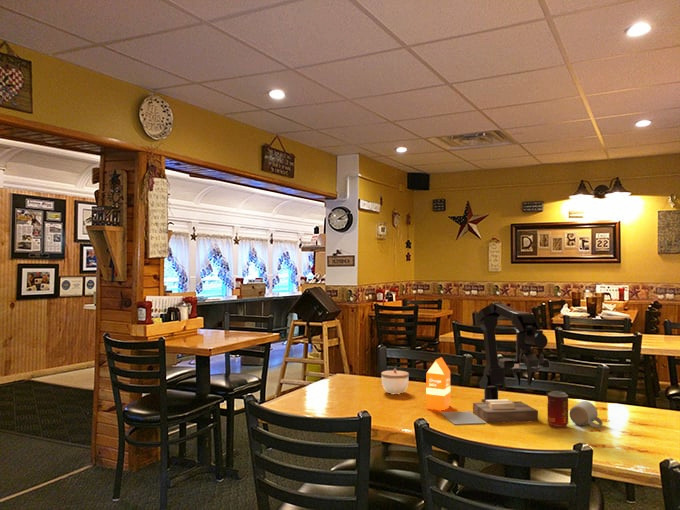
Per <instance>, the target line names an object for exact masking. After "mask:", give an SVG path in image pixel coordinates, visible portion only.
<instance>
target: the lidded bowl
mask: <svg viewBox="0 0 680 510" xmlns="http://www.w3.org/2000/svg"><path fill="white" fill-rule="evenodd" d="M380 375H381V384H382V387H383V389H384V390H385V392H388V393H395V394H398V393H402V394H403V393H404V392H405V391H406V390H407V388H408V386H409V376H410V373H409V372H407V371H403V370H397V368H393V370H384V371H382V372H381V374H380ZM388 393H387V394H388ZM398 395H399V394H398Z"/></svg>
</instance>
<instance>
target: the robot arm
mask: <svg viewBox="0 0 680 510" xmlns="http://www.w3.org/2000/svg"><path fill="white" fill-rule="evenodd" d="M501 317H503V318H506V319H507V320H509V321H510V322H511V324H512V325H513V326H514V329H513V330H512V332H513V333H515V334H516V335H515V338H516V340H515V343H516V346H514V349H515V351H516V352H515V357H514V360H513V359H510V358H500V359H498V358H499V356H498V348H497V339H496V328H497V326H498V324H499V321H498V320H499V319H500V318H501ZM476 319H477V322H478V323H477V324H478V326H479V327H480V329H481V330H482V334H483V335H482V336H483V343H484V351H485V352H484V354H485V363H486V365H485V366H484V369H483V373H482V374H483V376H482V378H481V379H480V381H479V382H478V384H479V388H480V389H483V390H484V392H483V393H484V394H483V395H484V396H483V397H484V398H483V399H481V401H482V403H483V402H485V400H499V389H503V388H504V383H505V381H506V380H505V379H506V376H505V369H510V371H511V372H512V374H513V376H514V379H515V381H516V383H517V386H521V370H522V368H520V366H521V367H522V366H525V367H526V375H527V378H526V379H527V385H528V386H531V384H532V381H533V379H534V377H535V375H536V373H537V371H540V370H541V367H542V368H550V367H551V363H550V360H549V359H547V358H544V354H543V353H537V354H535V350H534V348H536V349H540V350H542V349H545V348H546V347H547V345H548V340H549V339H548V338H547V336H546V335H545V334H544V331H543V330H542V329H540V326H539V324H538V322H537V321H536V318H535V316H534V314H532V312H529V311H519V310H517V309H514V308H512V307H510V306H508V305H507V304H504V303H503V302H498V301H495V302H491V303H490V304H488V305H486V306H485V307H483V308H481V309H480V310H479V311H478V313H476ZM540 366H541V367H540ZM481 401H480V402H481Z"/></svg>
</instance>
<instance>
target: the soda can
mask: <svg viewBox="0 0 680 510" xmlns="http://www.w3.org/2000/svg"><path fill="white" fill-rule="evenodd" d="M546 394H547V395H546V396H547V404H546V405H547V408H546V410H547V414H546V415H547V422H548V424H549V427H551V428H553V429H559V430H562V429H566V428H567V426H568V424H569V395H568V394H567V393H566V392H563V391H559V390H552V391H549V392H548V393H546Z"/></svg>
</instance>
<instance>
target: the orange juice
mask: <svg viewBox="0 0 680 510" xmlns="http://www.w3.org/2000/svg"><path fill="white" fill-rule="evenodd" d="M425 374H426V377H425V378H426V380H425V381H426V382H425V383H426V384H425V385H426V386H425V387H426V388H425V390H426V391H425V394H426V395H425V396H426V399H425V400H426V403H425V406H426V407H425V408H426V409H427V410H433V409H436V410H435V411H441V410H445V409H446V410H447V409H449V408H450V407H451V370H450V369H449V367H448V365H447V364H446V361H444V358H443V357H439V358H437V359H435V361H434V362H433V363H432V365H431V366H430V367H429V369H428V371H427V372H426V373H425ZM449 406H450V407H449ZM446 410H445V411H446Z"/></svg>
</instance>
